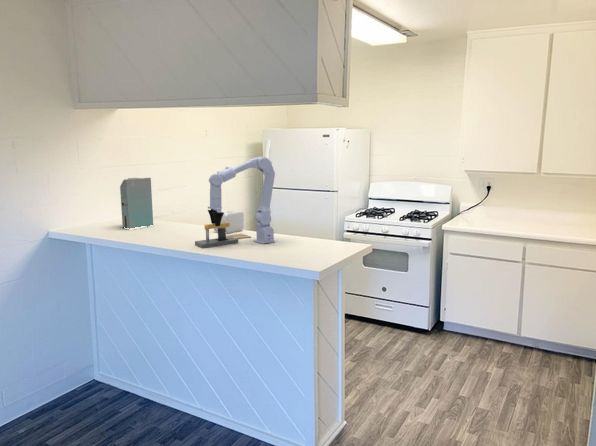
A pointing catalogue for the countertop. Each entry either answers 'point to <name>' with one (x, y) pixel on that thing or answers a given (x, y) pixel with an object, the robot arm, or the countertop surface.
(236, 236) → the cork mat
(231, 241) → the grey base with posts
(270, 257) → the countertop surface
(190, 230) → the countertop surface
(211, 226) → the clip
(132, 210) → the device
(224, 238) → the plug
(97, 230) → the countertop surface
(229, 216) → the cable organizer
